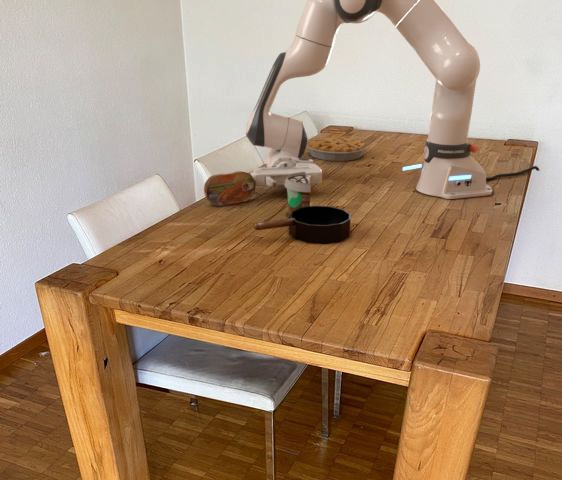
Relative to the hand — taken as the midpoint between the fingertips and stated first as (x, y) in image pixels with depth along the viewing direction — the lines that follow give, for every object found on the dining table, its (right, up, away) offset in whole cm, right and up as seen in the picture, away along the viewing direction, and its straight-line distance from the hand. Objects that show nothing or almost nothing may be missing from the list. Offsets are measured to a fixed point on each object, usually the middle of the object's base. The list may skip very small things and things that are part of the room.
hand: (290, 183), depth 164 cm
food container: (+1, -11, -6) cm, 12 cm away
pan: (+3, -19, -19) cm, 27 cm away
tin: (-17, -5, +3) cm, 18 cm away
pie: (+18, +27, +51) cm, 61 cm away
